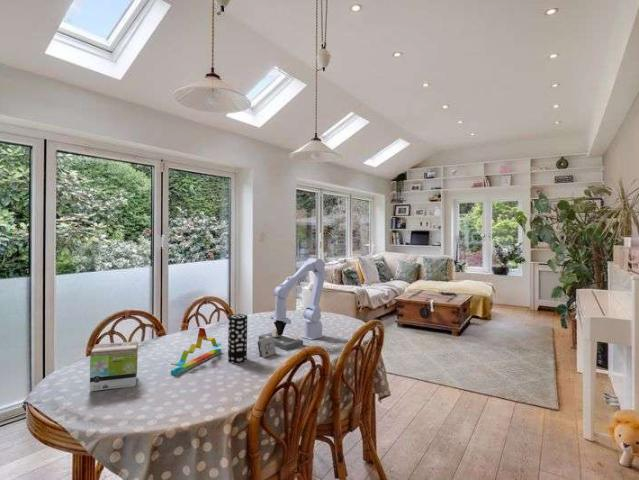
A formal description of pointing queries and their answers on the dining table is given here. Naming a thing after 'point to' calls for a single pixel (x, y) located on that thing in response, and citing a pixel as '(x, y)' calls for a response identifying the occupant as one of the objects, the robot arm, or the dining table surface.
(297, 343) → the panel
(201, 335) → the chart
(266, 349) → the electrical switch
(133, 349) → the tea box
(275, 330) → the block
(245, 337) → the white-spotted black cylinder
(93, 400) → the dining table surface
